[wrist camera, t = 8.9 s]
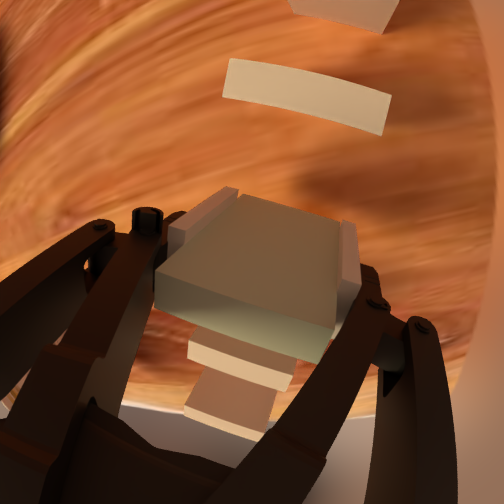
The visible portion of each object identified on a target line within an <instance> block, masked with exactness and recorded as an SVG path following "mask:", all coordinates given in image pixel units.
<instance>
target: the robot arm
mask: <svg viewBox="0 0 504 504" xmlns="http://www.w3.org/2000/svg"><path fill="white" fill-rule="evenodd" d="M237 196H238V189H235V188H231V187H227V186H226V187H224V188H223V189H221V190H220V191H218V192H217V193H215V194H214V195H212V196H211V197H209V198H208V199H206V200H205V201H203V202H202V203H200V204H199V205H197V206H196V207H194V208H193V209H191V210H190V211H188V212H185V211H179V212H175V213H172V214H171V215H169V216H168V217H166V218H165V219H164V220H163V214H164V213H163V212H162V210H160V209H157V208H153V207H140V208H136V209H134V210H133V211H132V230H131V231H130V232H129V234H126V233H118V232H115V224H114V223H113V222H112V221H110V220H105V219H97V220H93V221H91V222H89V223H87V224H85V225H84V226H82V227H80V228H79V229H77V230H76V231H74V232H72V233H71V234H69V235H68V236H66V237H65V238H63V239H61V240H60V241H58V242H57V243H55V244H54V245H52V246H51V247H49V248H48V249H46V250H45V251H43V252H42V253H40V254H39V255H37V256H36V257H35V258H33V259H32V260H30V261H29V262H27V263H26V264H25V265H23V266H22V267H20V268H19V269H18V270H16V271H15V272H13V273H12V274H11V275H9V276H8V277H7V278H5V279H4V280H3V281H1V282H0V401H1V400H2V399H3V398H5V397H6V396H7V395H8V394H9V392H10V391H11V390H12V389H13V388H14V387H15V386H16V385H17V384H18V382H19V381H20V380H21V379H22V378H23V377H24V376H25V374H26V373H27V372H28V371H29V370H30V369H31V370H30V372H29V373H28V375H27V377H26V379H25V381H24V383H23V385H22V387H21V389H20V391H19V393H18V395H17V397H16V399H15V401H14V403H13V405H12V407H11V410H10V412H9V414H8V416H7V418H4V419H0V504H302V502H303V501H304V499H305V498H306V496H307V494H308V493H309V492H310V490H311V488H312V487H313V485H314V483H315V482H316V480H317V478H318V477H319V475H320V473H321V472H322V470H323V468H324V466H325V464H326V461H327V460H326V455H327V453H328V451H329V449H330V448H331V446H332V444H333V442H334V440H335V438H336V437H337V434H338V433H339V431H340V429H341V427H342V425H343V423H344V421H345V419H346V417H347V415H348V413H349V411H350V409H351V407H352V405H353V403H354V400H355V398H356V396H357V394H358V392H359V390H360V387H361V385H362V383H363V381H364V378H365V376H366V374H367V371H368V369H369V367H370V364H371V363H372V364H374V365H376V366H378V367H379V369H378V386H377V404H376V417H375V428H374V438H373V447H372V456H371V463H370V470H369V478H368V483H367V490H366V495H365V501H364V504H458V503H457V502H458V480H457V458H456V457H457V456H456V443H455V432H454V423H453V415H452V407H451V400H450V394H449V387H448V382H447V376H446V371H445V366H444V361H443V356H442V351H441V347H440V342H439V338H438V334H437V331H436V328H435V327H434V326H433V325H432V323H431V322H430V321H428V320H427V319H425V318H422V317H419V316H411V317H410V318H409V319H408V321H407V323H405V322H403V321H401V320H400V319H398V318H396V317H394V316H393V315H391V314H390V311H391V306H390V305H389V303H388V302H387V301H386V300H385V299H384V298H382V294H381V288H380V282H379V277H378V273H377V272H376V271H375V269H374V268H373V267H370V266H367V265H364V264H361V263H360V260H359V250H358V241H357V232H356V224H355V223H352V222H348V221H345V220H342V223H341V226H340V229H339V251H338V274H337V291H336V293H337V307H336V321H335V331H334V333H333V335H332V337H331V339H334V340H333V342H332V343H331V345H330V346H329V348H328V350H327V351H326V353H325V354H324V356H323V357H322V359H321V360H320V362H319V363H318V365H317V366H316V368H315V369H314V371H313V372H312V374H311V375H310V377H309V378H308V380H307V381H306V383H305V384H304V385H303V387H302V388H301V390H300V391H299V393H298V394H297V395H296V397H295V398H294V400H293V401H292V402H291V404H290V405H289V406H288V408H287V409H286V410H285V412H284V413H283V414H282V416H281V417H280V418H279V420H278V421H277V422H276V424H275V425H274V426H273V427H272V428H271V429H269V430H268V431H267V432H266V433H265V434H264V435H263V437H262V438H261V439H260V440H259V441H258V443H257V444H256V445H255V446H254V448H253V449H252V450H251V451H250V452H249V454H248V455H247V456H246V457H245V458H244V459H243V461H242V462H241V463H240V464H239V465H238V466H237V468H236V469H234V468H231V467H228V466H225V465H222V464H219V463H217V462H214V461H211V460H208V459H206V458H203V457H200V456H195V455H190V454H184V453H179V452H173V451H168V450H163V449H159V448H156V447H154V446H152V445H151V444H149V443H148V442H147V441H146V440H145V439H143V438H142V437H141V436H140V435H138V434H137V433H136V432H135V431H134V430H133V429H132V428H130V427H129V426H128V425H127V424H126V423H125V422H124V421H122V420H120V419H119V418H118V413H119V409H120V405H121V402H122V398H123V395H124V391H125V388H126V385H127V381H128V378H129V375H130V371H131V368H132V365H133V362H134V359H135V356H136V352H137V349H138V346H139V343H140V340H141V337H142V334H143V331H144V328H145V325H146V323H147V320H148V317H149V314H150V311H151V308H152V305H153V303H154V292H155V270H156V269H157V268H158V267H159V266H161V265H162V264H163V263H164V262H165V261H166V260H167V259H168V258H169V257H171V256H172V255H173V254H174V253H175V252H176V251H177V250H178V249H179V248H181V247H182V246H183V245H185V244H186V243H187V242H188V241H190V240H191V239H192V238H193V237H194V236H195V235H196V234H198V233H199V232H200V231H201V230H202V229H203V228H204V227H206V226H207V225H208V224H209V223H210V222H211V221H212V220H214V219H215V218H216V217H217V216H218V215H219V214H221V213H222V212H223V211H224V210H225V209H227V208H228V207H229V206H230V205H231V204H232V203H234V202H235V201H236V200H237ZM87 259H88V268H87V269H85V270H84V264H85V262H86V261H87ZM65 331H66V332H65ZM64 332H65V334H64V336H63V338H62V339H61V341H60V343H59V344H58V345H54V342H55V341H56V340H57V339H58V338H59V337H60V336H61V335H62V334H63V333H64Z"/></svg>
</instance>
